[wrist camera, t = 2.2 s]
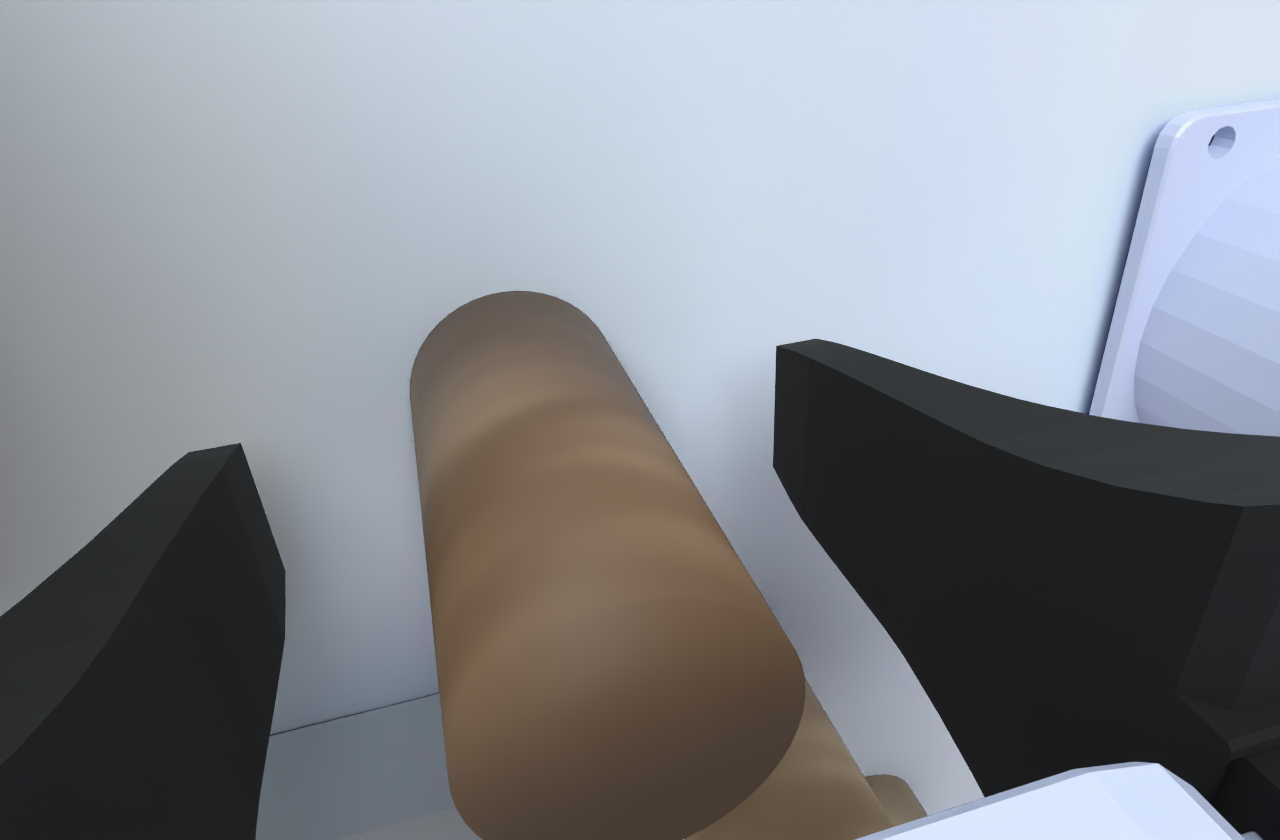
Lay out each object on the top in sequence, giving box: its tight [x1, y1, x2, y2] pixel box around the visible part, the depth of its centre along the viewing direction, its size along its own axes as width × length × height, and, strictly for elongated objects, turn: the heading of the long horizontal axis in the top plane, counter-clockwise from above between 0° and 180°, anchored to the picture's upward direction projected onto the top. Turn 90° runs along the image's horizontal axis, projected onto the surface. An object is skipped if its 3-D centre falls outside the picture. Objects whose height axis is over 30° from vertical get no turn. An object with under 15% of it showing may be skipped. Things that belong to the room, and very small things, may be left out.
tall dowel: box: [410, 291, 805, 840], centre depth 10 cm, size 3×3×7 cm
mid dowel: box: [685, 679, 894, 840], centre depth 15 cm, size 3×3×6 cm
